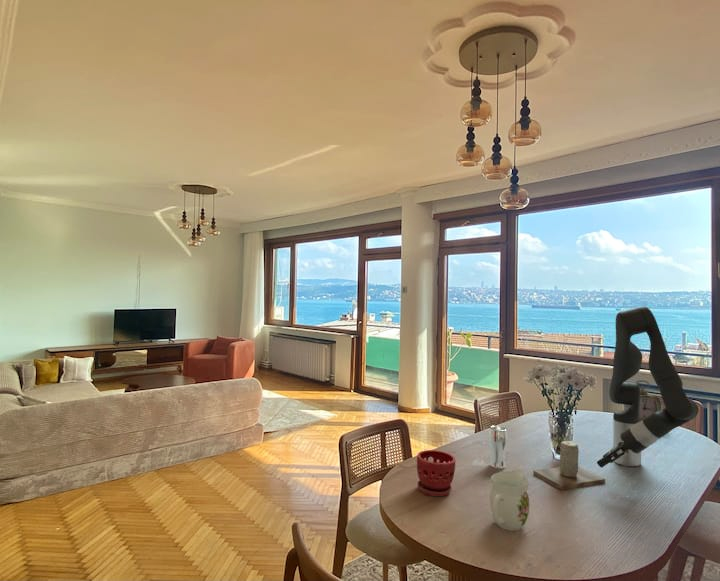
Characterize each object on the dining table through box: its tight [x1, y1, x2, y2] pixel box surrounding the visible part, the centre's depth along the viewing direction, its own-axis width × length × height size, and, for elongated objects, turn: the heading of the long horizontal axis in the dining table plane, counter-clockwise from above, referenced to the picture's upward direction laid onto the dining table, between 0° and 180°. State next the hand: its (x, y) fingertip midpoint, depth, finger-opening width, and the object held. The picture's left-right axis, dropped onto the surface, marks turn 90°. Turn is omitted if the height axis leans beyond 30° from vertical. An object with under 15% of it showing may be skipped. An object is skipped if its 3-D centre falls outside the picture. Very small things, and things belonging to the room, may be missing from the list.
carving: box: [558, 440, 580, 477], centre depth 159 cm, size 6×8×12 cm
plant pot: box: [416, 449, 456, 497], centre depth 148 cm, size 13×13×12 cm
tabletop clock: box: [624, 380, 662, 422], centre depth 230 cm, size 14×9×25 cm, turn 81°
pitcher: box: [489, 469, 530, 532], centre depth 125 cm, size 11×18×14 cm, turn 137°
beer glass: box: [488, 425, 508, 470], centre depth 171 cm, size 7×7×15 cm
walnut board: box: [532, 466, 606, 491], centre depth 160 cm, size 20×14×2 cm
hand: (601, 461), depth 152 cm, fingers open, 8 cm apart
